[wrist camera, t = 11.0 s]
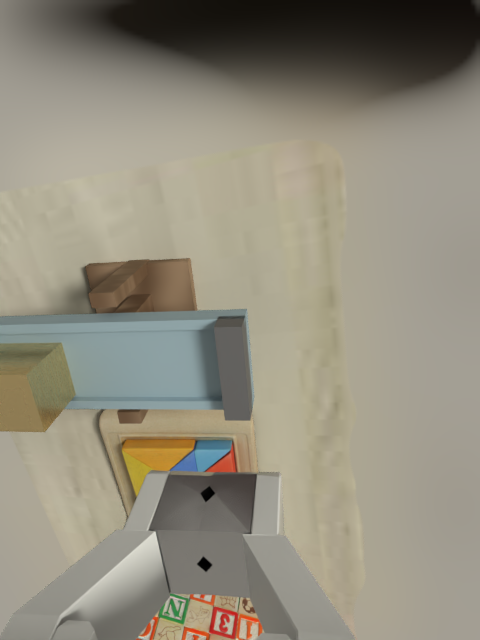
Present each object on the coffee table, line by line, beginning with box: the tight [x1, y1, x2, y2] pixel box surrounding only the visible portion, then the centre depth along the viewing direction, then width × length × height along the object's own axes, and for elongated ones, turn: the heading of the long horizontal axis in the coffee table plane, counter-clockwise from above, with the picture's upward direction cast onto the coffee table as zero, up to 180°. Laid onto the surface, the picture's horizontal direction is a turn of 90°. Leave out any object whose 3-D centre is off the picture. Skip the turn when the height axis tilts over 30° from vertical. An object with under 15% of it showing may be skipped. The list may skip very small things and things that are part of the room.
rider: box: [0, 343, 76, 432], centre depth 34 cm, size 6×5×5 cm
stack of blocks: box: [136, 594, 265, 640], centre depth 53 cm, size 21×6×12 cm, turn 75°
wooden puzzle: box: [99, 409, 258, 517], centre depth 50 cm, size 17×19×4 cm
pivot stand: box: [85, 258, 197, 424], centre depth 39 cm, size 10×12×9 cm
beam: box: [0, 309, 254, 421], centre depth 35 cm, size 22×8×3 cm, turn 95°
